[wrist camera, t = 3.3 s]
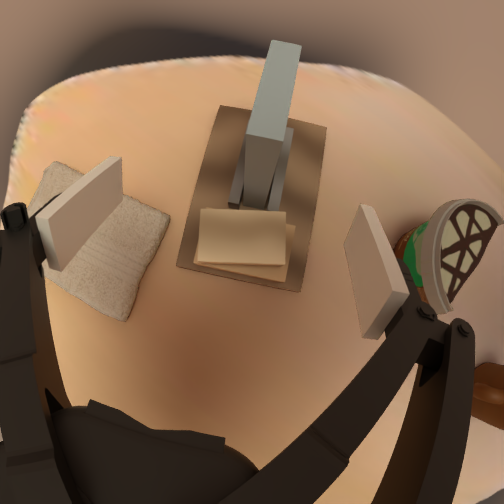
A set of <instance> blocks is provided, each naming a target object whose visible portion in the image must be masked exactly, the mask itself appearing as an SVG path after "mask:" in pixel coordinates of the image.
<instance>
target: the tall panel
mask: <svg viewBox="0 0 504 504" xmlns="http://www.w3.org/2000/svg"><path fill="white" fill-rule="evenodd" d="M301 47H302V46H300V45H296V44H291V43H286V42H281V41H276V40H272V42H271V45H270V48H269V52H268V55H267V59H266V62H265V66H264V69H263V73H262V76H261V80H260V84H259V87H258V91H257V94H256V98H255V102H254V106H253V109H252V113H251V117H250V121H249V124H248V128H247V132H246V147H245V170H244V194H243V206H247V207H252V208H257V209H262V210H264V206H265V203H266V199H267V196H268V192H269V189H270V185H271V182H272V179H273V175H274V172H275V168H276V165H277V161H278V158H279V154H280V151H281V148H282V144H283V140H284V135H285V130H286V125H287V120H288V115H289V110H290V104H291V99H292V94H293V89H294V84H295V79H296V73H297V68H298V63H299V57H300V52H301Z"/></svg>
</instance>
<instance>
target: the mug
mask: <svg viewBox="0 0 504 504" xmlns="http://www.w3.org/2000/svg"><path fill="white" fill-rule="evenodd" d="M471 416H473V417H475V418H478V419H480V420H482V421H484V422H486V423H488V424H490V425H492V426H494V427H497V428H499V429H502V430H504V365H499V364H494V363H484V364H482V365H480V366H479V367H477V368H476V369H475V370H474V387H473V399H472V409H471Z"/></svg>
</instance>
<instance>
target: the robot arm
mask: <svg viewBox="0 0 504 504" xmlns="http://www.w3.org/2000/svg"><path fill="white" fill-rule="evenodd" d="M122 201H123V188H122V157H114V156H110V157H108V158H107V159H105V160H104V161H103V162H101V163H100V164H98V165H97V166H96V167H94V168H93V169H92V170H90V171H89V172H88V173H86V174H85V175H84V176H83V177H81V178H80V179H79V180H77V181H76V182H75V183H74V184H72V185H71V186H70V187H69V188H67V189H66V190H65V191H64V192H62V193H60V194H58V195H56V196H54V197H53V198H52V199H50V200H49V201H48V203H46V204H45V205H43V207H41V208H40V209H39V210H38V211H37V212H35V213H34V214H33V215H32V216H31V217H30V218H29V217H28V212H27V208H26V204H24V203H20V202H18V203H13V204H11V205H9V206H7V207H5V208H4V209H3V210H2V211H1V214H0V215H1V219H2V223H3V226H4V229H5V230H0V427H1V433H2V437H3V441H1V442H0V504H313V503H314V502H315V501H316V500H317V499H318V498H319V497H320V496H321V495H322V494H323V493H324V492H325V491H326V490H327V489H328V488H329V486H330V485H331V484H332V483H333V482H334V481H335V480H336V479H337V478H338V477H339V475H340V474H341V473H342V472H343V471H344V469H345V468H346V467H347V465H348V463H349V458H350V456H351V455H352V453H353V452H354V451H355V450H356V448H357V447H358V446H359V445H360V443H361V442H362V441H363V440H364V438H365V437H366V436H367V434H368V433H369V432H370V430H371V429H372V428H373V426H374V425H375V424H376V422H377V421H378V420H379V418H380V417H381V415H382V414H383V413H384V411H385V410H386V408H387V407H388V405H389V404H390V402H391V401H392V399H393V398H394V396H395V395H396V393H397V392H398V390H399V389H400V387H401V385H402V384H403V382H404V381H405V379H406V377H407V376H408V374H409V372H410V371H411V369H412V367H413V366H414V364H415V363H418V364H419V365H418V369H417V374H416V378H415V382H414V386H413V390H412V394H411V397H410V401H409V405H408V408H407V412H406V415H405V418H404V421H403V425H402V428H401V431H400V434H399V437H398V440H397V443H396V445H395V448H394V451H393V454H392V456H391V459H390V461H389V464H388V467H387V469H386V471H385V474H384V476H383V479H382V481H381V483H380V486H379V488H378V490H377V492H376V494H375V497H374V499H373V501H372V503H371V504H452V501H453V498H454V495H455V491H456V488H457V484H458V480H459V476H460V472H461V468H462V463H463V459H464V454H465V449H466V443H467V437H468V431H469V425H470V417H471V409H472V399H473V387H474V369H475V334H474V331H473V329H472V327H471V326H470V325H469V323H468V322H466V321H465V320H463V319H460V318H456V319H454V320H453V321H452V322H451V323H450V325H449V324H446V323H444V322H442V321H440V320H438V319H437V314H436V312H435V310H434V309H433V308H432V307H431V306H430V305H429V304H427V303H426V302H424V301H422V300H421V297H420V295H419V292H418V290H417V287H416V285H415V282H414V280H413V277H412V276H411V273H410V270H409V268H408V266H407V265H406V264H405V263H404V261H403V260H402V259H399V258H396V257H395V255H394V253H393V250H392V248H391V246H390V243H389V241H388V239H387V236H386V234H385V232H384V230H383V227H382V225H381V223H380V221H379V219H378V217H377V214H376V212H375V210H374V208H373V207H372V206H368V205H365V204H361V203H360V205H359V208H358V210H357V213H356V215H355V218H354V220H353V223H352V225H351V228H350V230H349V233H348V235H347V238H346V240H345V243H344V248H345V253H346V257H347V262H348V266H349V271H350V276H351V280H352V285H353V290H354V295H355V300H356V306H357V311H358V317H359V323H360V328H361V334H362V338H368V339H376V340H378V339H379V337H380V336H381V335H382V333H383V332H384V331H385V335H386V339H385V341H384V342H383V343H382V345H381V346H380V347H379V348H378V350H377V351H376V352H375V353H374V355H373V356H372V357H371V359H370V360H369V361H368V362H367V363H366V365H365V366H364V367H363V368H362V370H361V371H360V372H359V373H358V374H357V375H356V377H355V378H354V379H353V380H352V381H351V382H350V384H349V385H348V386H347V387H346V388H345V389H344V390H343V391H342V393H341V394H340V395H339V396H338V397H337V398H336V399H335V400H334V401H333V402H332V403H331V404H330V405H329V407H328V408H327V409H326V410H325V411H324V412H323V413H322V414H321V415H320V416H319V417H318V418H317V419H316V420H315V421H314V422H313V423H312V424H311V425H310V426H309V427H308V428H307V429H306V430H305V431H304V432H303V433H302V434H301V435H300V436H298V437H297V438H296V439H295V440H294V441H293V442H292V443H291V444H290V445H289V446H288V447H287V448H285V449H284V450H283V451H282V452H281V453H280V454H279V455H278V456H276V457H275V458H274V459H273V460H272V461H271V462H269V463H268V464H267V465H266V466H265V467H263V468H262V469H261V470H260V471H259V470H258V468H257V467H256V466H255V465H254V464H253V463H252V462H251V461H250V460H249V459H248V458H247V457H246V456H244V455H243V454H241V453H240V452H238V451H237V450H235V449H233V448H231V447H229V446H227V445H224V444H225V438H224V437H219V436H213V435H208V434H204V433H199V432H194V431H190V430H154V429H150V428H148V427H146V426H145V425H143V424H141V423H140V422H138V421H136V420H135V419H133V418H131V417H130V416H128V415H127V414H125V413H124V412H122V411H120V410H118V409H115V408H112V407H109V406H107V405H104V404H101V403H99V402H96V401H94V400H91V399H90V401H89V403H88V406H73V407H72V405H71V403H70V401H69V399H68V397H67V395H66V392H65V388H64V385H63V381H62V377H61V373H60V369H59V365H58V361H57V356H56V351H55V347H54V342H53V336H52V331H51V325H50V319H49V312H48V305H47V297H46V289H45V279H44V269H43V266H42V263H43V261H44V260H45V259H47V262H48V266H49V268H50V269H53V270H56V271H59V272H62V271H63V270H64V269H65V267H66V266H67V265H68V264H69V262H70V261H71V260H72V258H73V257H74V256H75V255H76V254H77V252H78V251H79V250H80V249H81V247H82V246H83V245H84V244H85V243H86V241H87V240H88V239H89V238H90V237H91V236H92V234H93V233H94V232H95V231H96V230H97V229H98V227H99V226H100V225H101V224H102V223H103V222H104V221H105V220H106V218H107V217H108V216H109V215H110V214H111V213H112V212H113V211H114V210H115V209H116V208H117V206H118V205H119V204H120V203H121V202H122Z"/></svg>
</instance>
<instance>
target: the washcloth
mask: <svg viewBox="0 0 504 504" xmlns="http://www.w3.org/2000/svg"><path fill="white" fill-rule="evenodd" d="M83 176H84V175H83V174H82V173H79V172H77V171H76V170H74V169H71V168H69V167H68V166H66V165H63V164H62V163H59V162H57V161H56V162H53V163H52V164H51V165H50V166H49V167H47V168H46V169H45V170H44V174H43V178H42V180H41V182H40V184H39V187H38V189H37V191H36V192H35V194H34V196H33V198H32V200H31V202H30V204H29V206H28V209H27V212H28V217H29V218H30V217H31V216H32V215H33V214H34V213H35V212H37V211H38V210H39V209H40V208H41V207H43V205H45V204H46V203H48V201H49V200H50V199H52V198H53V197H54V196H56V195H58V194H60V193H62V192H64V191H65V190H66V189H67V188H69V187H70V186H71V185H72V184H74V183H75V182H76V181H77V180H79V179H80V178H81V177H83ZM169 221H170V215H167V214H165V213H161V211H160V210H156V209H155V208H152V207H150V206H148V205H146V204H143V203H140V202H139V201H138V200H136V199H133V198H132V197H129V196H128V195H124V194H123V201H122V202H121V203H120V204H119V205H118V206H117V208H116V209H115V210H114V211H113V212H112V213H111V214H110V215H109V216H108V217H107V218H106V220H105V221H104V222H103V223H102V224H101V225H100V226H99V227H98V229H97V230H96V231H95V232H94V233H93V234H92V236H91V237H90V238H89V239H88V240H87V241H86V243H85V244H84V245H83V246H82V247H81V249H80V250H79V251H78V252H77V254H76V255H75V256H74V257H73V258H72V260H71V261H70V262H69V264H68V265H67V266H66V267H65V269H64V270H63V271H62V272H59V271H56V270H53V269H50V268H49V266H48V262H47V259H45V260H44V261H43V263H42V266H43V269H44V276H45V277H47V278H48V279H50V280H51V281H53V282H54V283H55V284H57V285H58V286H60V287H61V288H62V289H64V290H65V291H66V292H68V293H70V294H72V295H73V296H75V297H77V298H79V299H80V300H82V301H84V302H85V303H86V304H88V305H90V306H91V307H92V308H94V309H96V310H98V311H99V312H101V313H103V314H105V315H107V316H110V317H113V318H115V319H117V320H119V321H124V322H125V321H126V320H127V318H128V316H129V314H130V311H131V308H132V306H133V302H134V300H135V299H136V294H137V290H138V288H139V287H138V284H139V282H140V279H141V278H142V276H143V273H144V272H145V270H146V266H147V265H148V264H149V262H151V261H152V259H153V257H154V255H155V253H156V250H157V248H158V246H159V244H160V241H161V240H162V239H163V234H164V233H165V231H166V229H167V226H168V224H169Z"/></svg>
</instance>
